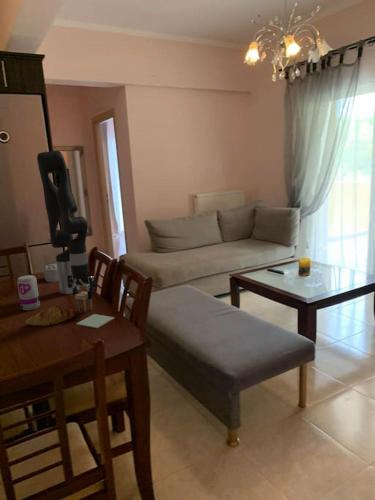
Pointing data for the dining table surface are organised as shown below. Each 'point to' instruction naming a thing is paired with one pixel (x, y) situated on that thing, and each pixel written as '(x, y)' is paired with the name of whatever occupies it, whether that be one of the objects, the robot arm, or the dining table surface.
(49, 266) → the egg container
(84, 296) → the stool
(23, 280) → the supplement can
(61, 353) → the dining table surface
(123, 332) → the dining table surface
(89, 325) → the mat
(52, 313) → the croissant
